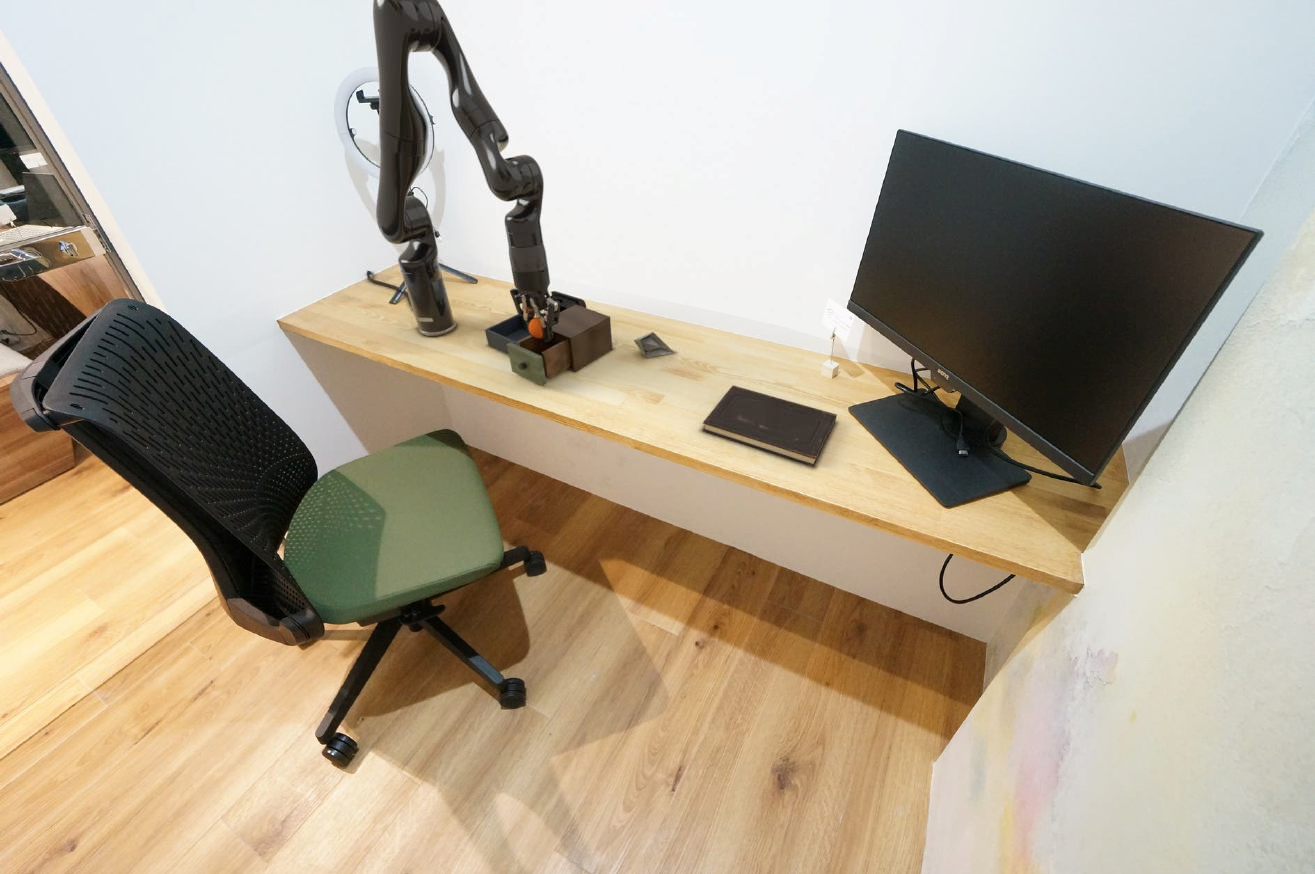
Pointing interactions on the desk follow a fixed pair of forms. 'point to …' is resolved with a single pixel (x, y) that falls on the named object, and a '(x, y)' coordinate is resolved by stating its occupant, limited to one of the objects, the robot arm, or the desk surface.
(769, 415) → the hardcover book
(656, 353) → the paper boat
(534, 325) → the ball
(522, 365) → the drawer
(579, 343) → the cabinet
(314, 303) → the desk surface
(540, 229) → the robot arm
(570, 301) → the end cap
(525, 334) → the box
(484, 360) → the desk surface
